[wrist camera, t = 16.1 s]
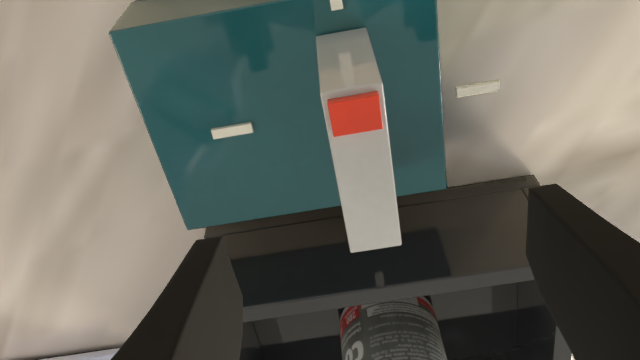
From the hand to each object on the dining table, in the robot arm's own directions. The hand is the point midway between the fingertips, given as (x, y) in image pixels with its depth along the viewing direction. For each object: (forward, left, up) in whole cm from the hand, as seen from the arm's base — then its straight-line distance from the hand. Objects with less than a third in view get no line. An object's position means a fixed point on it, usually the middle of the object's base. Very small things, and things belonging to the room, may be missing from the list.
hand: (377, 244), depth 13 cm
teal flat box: (-2, 0, -10) cm, 10 cm away
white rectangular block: (0, 0, -7) cm, 7 cm away
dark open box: (0, -13, -10) cm, 16 cm away
